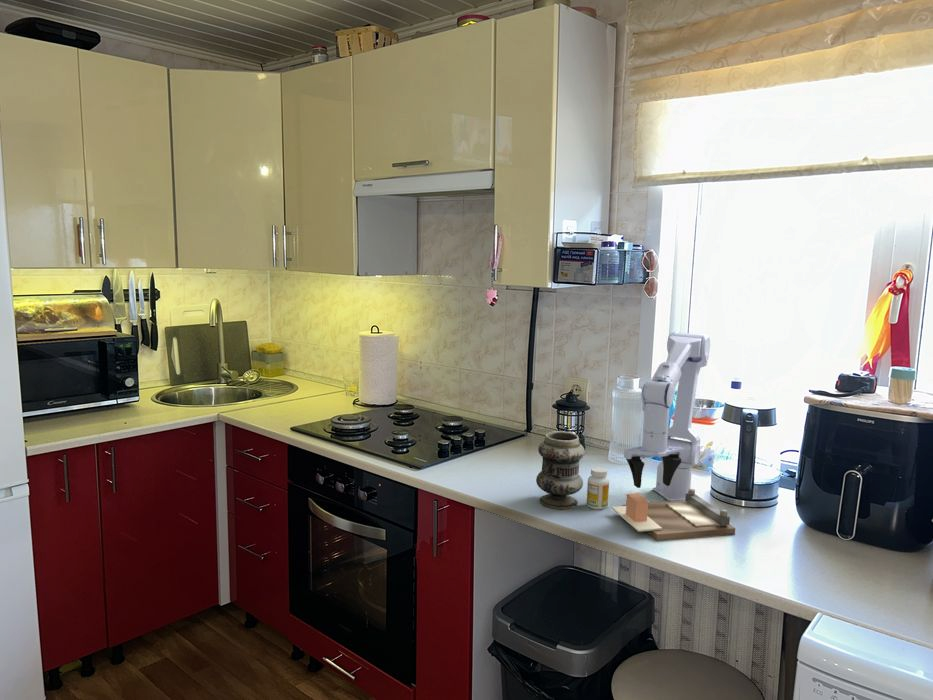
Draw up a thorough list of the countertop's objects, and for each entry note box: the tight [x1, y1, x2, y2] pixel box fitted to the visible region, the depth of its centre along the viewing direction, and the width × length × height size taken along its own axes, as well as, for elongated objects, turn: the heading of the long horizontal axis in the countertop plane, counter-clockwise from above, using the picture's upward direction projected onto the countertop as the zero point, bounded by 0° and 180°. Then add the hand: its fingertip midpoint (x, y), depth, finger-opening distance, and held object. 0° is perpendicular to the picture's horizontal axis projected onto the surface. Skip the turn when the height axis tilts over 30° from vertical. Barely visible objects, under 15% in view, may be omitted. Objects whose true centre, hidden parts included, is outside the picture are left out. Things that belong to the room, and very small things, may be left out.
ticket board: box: [621, 488, 736, 542], centre depth 166 cm, size 18×20×5 cm
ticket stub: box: [611, 492, 662, 532], centre depth 163 cm, size 14×6×5 cm, turn 13°
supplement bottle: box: [586, 466, 610, 510], centre depth 175 cm, size 5×5×10 cm
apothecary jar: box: [535, 430, 586, 510], centre depth 176 cm, size 12×12×18 cm
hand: (651, 485), depth 164 cm, fingers open, 7 cm apart
